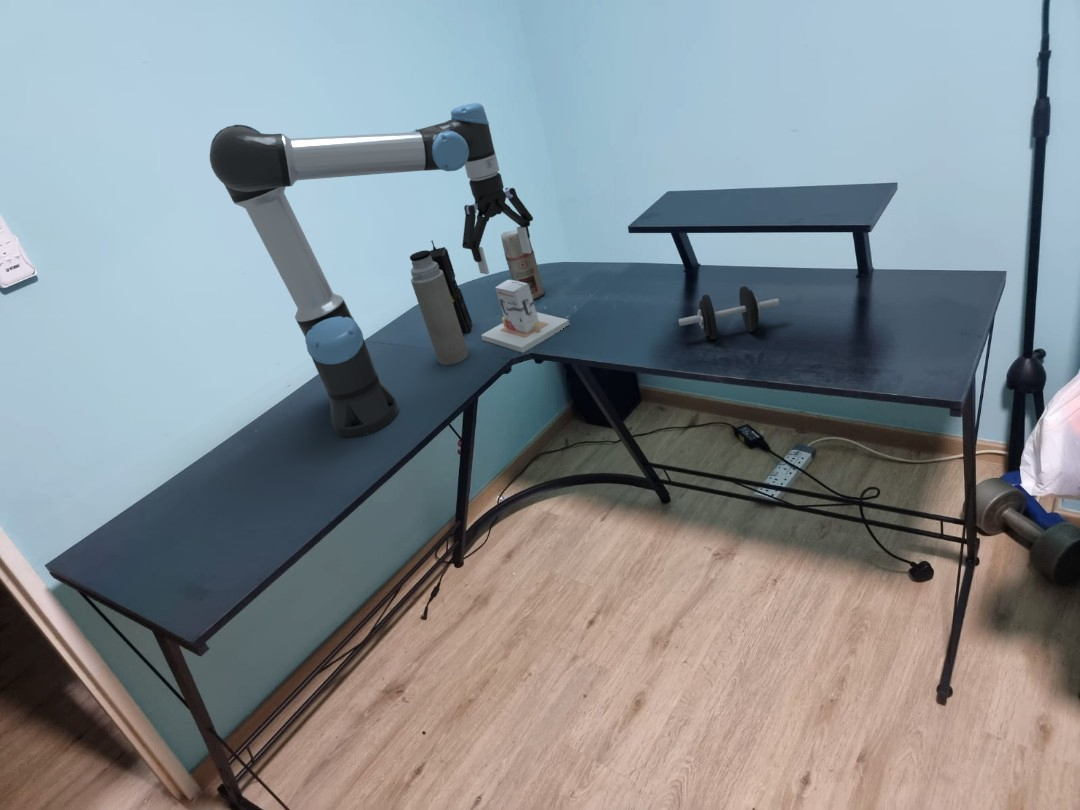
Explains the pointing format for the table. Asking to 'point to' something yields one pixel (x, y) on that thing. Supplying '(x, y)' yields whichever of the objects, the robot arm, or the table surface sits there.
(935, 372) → the table surface
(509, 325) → the ink box
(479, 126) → the robot arm
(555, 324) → the pin plate
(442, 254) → the portable radio
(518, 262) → the spray can
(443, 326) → the thermos bottle
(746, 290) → the dumbbell
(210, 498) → the table surface
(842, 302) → the table surface
